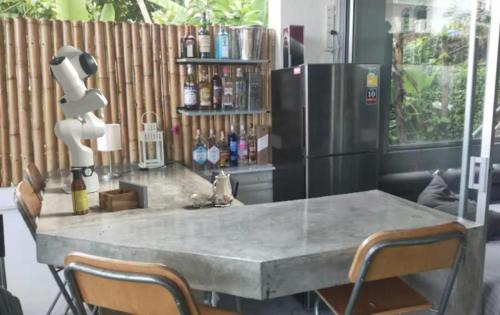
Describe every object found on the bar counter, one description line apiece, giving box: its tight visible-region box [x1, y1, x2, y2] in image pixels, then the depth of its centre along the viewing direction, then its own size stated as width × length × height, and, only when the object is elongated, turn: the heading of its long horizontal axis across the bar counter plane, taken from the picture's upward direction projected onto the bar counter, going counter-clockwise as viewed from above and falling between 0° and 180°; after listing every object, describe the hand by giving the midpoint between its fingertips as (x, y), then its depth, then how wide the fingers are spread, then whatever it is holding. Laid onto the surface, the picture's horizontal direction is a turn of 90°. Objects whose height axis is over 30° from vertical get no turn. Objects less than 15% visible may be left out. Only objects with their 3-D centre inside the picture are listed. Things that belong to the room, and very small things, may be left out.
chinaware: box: [189, 170, 235, 208], centre depth 202 cm, size 28×17×17 cm, turn 154°
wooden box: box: [98, 188, 138, 213], centre depth 198 cm, size 12×12×7 cm
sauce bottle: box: [70, 168, 89, 216], centre depth 186 cm, size 7×6×20 cm
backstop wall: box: [118, 179, 149, 209], centre depth 203 cm, size 22×2×10 cm, turn 46°
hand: (93, 120), depth 194 cm, fingers open, 8 cm apart
